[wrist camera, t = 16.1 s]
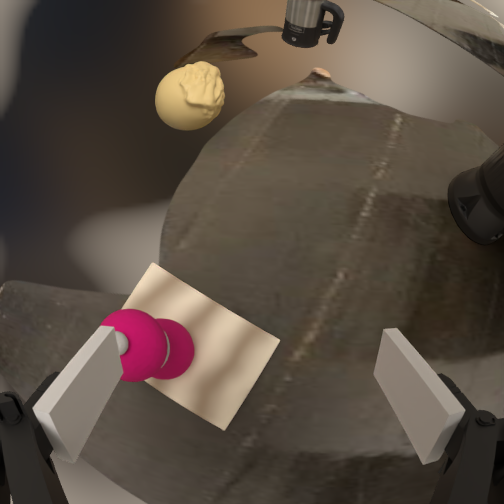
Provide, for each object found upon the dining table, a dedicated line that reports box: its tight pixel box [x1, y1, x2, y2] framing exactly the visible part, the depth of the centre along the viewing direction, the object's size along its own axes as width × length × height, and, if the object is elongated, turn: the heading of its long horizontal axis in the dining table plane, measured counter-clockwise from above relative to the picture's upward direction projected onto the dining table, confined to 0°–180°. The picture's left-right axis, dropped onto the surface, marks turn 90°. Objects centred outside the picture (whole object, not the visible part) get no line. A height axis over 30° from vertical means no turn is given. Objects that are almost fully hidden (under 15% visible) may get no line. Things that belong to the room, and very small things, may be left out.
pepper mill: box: [100, 309, 195, 382], centre depth 29 cm, size 7×7×20 cm
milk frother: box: [282, 0, 344, 48], centre depth 58 cm, size 14×16×15 cm
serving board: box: [122, 263, 280, 431], centre depth 39 cm, size 20×14×2 cm
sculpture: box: [155, 61, 225, 131], centre depth 48 cm, size 11×12×11 cm
